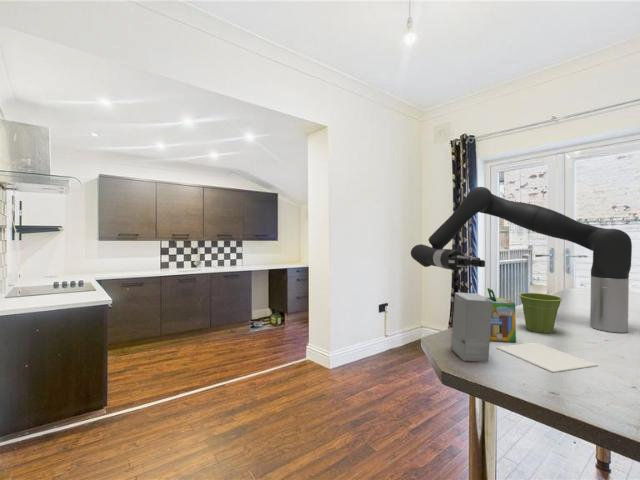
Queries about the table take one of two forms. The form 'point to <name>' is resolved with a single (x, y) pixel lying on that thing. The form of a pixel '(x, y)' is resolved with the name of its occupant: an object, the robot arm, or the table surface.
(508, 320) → the chalk box
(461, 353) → the skincare box
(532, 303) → the plant pot
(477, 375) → the table surface
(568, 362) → the mat
